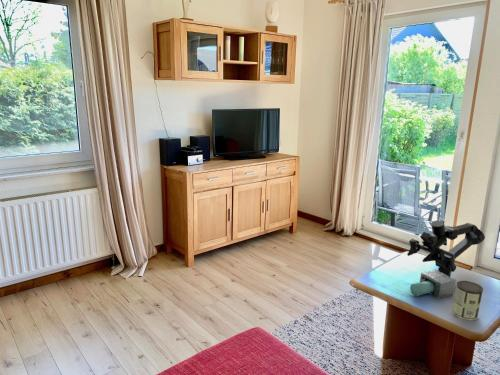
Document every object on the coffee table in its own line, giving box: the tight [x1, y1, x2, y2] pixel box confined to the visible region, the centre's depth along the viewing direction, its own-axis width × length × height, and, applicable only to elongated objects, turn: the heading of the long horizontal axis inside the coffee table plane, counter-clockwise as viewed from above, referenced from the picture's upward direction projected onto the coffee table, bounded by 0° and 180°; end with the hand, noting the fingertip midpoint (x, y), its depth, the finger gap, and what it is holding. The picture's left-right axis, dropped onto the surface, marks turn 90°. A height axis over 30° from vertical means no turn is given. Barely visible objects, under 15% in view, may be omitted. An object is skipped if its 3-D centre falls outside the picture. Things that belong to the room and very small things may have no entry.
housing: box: [419, 269, 457, 299], centre depth 186 cm, size 11×12×8 cm
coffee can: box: [451, 280, 484, 321], centre depth 165 cm, size 10×10×14 cm
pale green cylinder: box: [409, 280, 436, 297], centre depth 183 cm, size 13×6×6 cm, turn 113°
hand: (415, 257), depth 184 cm, fingers open, 9 cm apart
